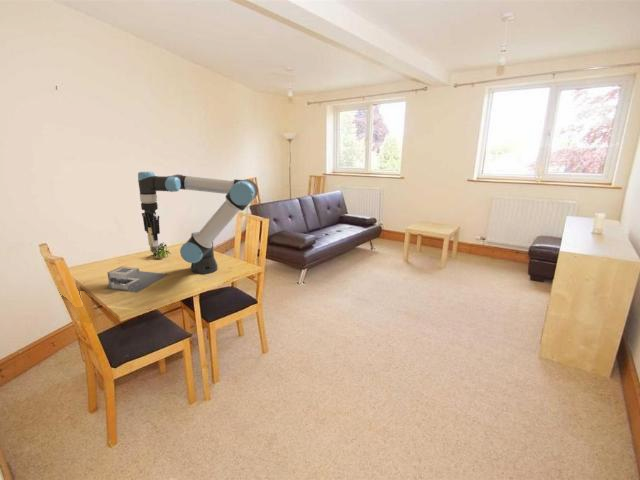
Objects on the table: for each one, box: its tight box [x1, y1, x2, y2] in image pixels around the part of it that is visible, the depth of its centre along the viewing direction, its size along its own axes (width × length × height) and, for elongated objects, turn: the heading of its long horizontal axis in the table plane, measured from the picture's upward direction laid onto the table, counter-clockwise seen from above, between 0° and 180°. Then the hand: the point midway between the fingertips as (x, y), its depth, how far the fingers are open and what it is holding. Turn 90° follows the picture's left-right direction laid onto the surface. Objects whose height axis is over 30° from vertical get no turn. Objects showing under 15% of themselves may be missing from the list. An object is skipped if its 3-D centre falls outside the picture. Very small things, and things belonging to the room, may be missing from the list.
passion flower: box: [151, 241, 171, 260], centre depth 204 cm, size 11×11×12 cm
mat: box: [103, 270, 170, 293], centre depth 165 cm, size 19×25×1 cm
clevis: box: [107, 266, 141, 290], centre depth 157 cm, size 10×9×8 cm
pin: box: [148, 227, 158, 252], centre depth 166 cm, size 4×4×13 cm
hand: (153, 245), depth 167 cm, fingers closed on pin, 3 cm apart
